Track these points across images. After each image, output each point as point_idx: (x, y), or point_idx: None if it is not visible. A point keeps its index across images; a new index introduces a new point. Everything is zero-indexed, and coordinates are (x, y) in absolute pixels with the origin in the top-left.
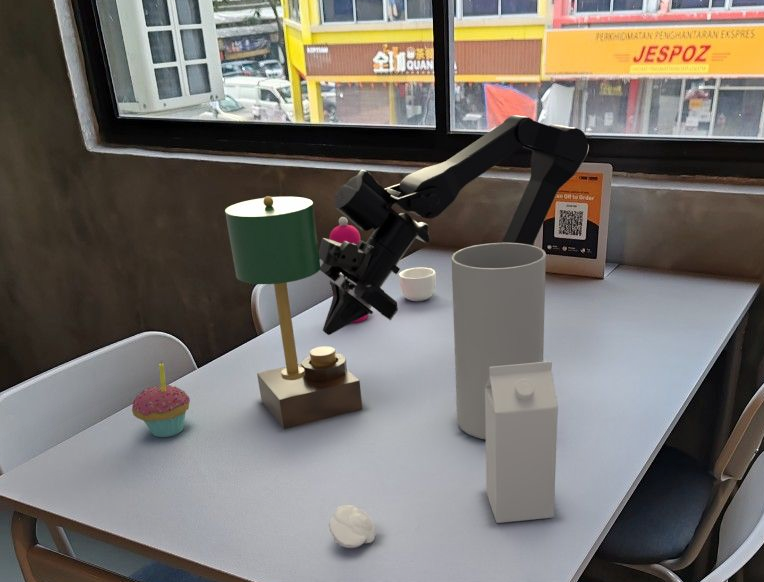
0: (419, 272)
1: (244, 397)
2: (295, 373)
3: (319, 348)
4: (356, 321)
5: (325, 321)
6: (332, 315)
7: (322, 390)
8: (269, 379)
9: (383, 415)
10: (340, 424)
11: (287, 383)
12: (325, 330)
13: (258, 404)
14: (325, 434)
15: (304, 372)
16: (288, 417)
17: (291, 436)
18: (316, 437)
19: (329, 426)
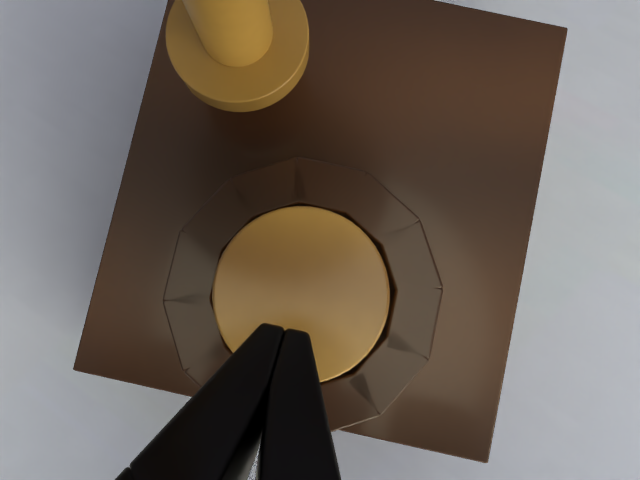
0: None
1: (604, 57)
2: (185, 21)
3: (357, 306)
4: None
5: (316, 390)
6: (204, 449)
7: (126, 163)
8: (443, 34)
9: (22, 385)
10: (88, 209)
11: (328, 75)
12: (254, 331)
13: None
14: (60, 119)
15: (186, 85)
16: None
17: (144, 18)
18: (65, 81)
19: (106, 167)
